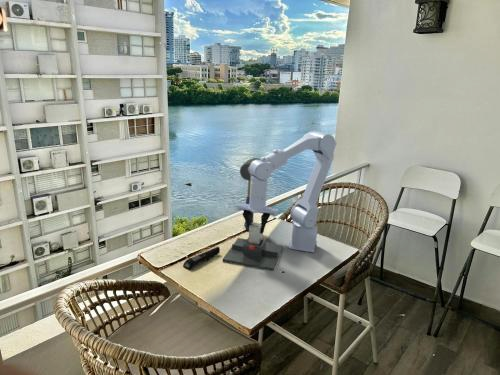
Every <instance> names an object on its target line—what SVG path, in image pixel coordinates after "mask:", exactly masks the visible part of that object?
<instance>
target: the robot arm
mask: <svg viewBox="0 0 500 375" xmlns="http://www.w3.org/2000/svg"><path fill="white" fill-rule="evenodd" d="M336 146H337V142H336V140H335V137H334V136H333V135H332V134H330V133H325V132H321V131H318V130H310V131H309V132H307V133H304V134H303V136H302V137H301V138H299V139H298V140H296V141H295V142H293V143H291V144H290V145H289V146H288V147H286V148H284V149H283V150H282V149H280V148H278V149H275V148H274V149H273V150H272V151H271V152H270V153H269V154H267V155H266V156H262V157H261V158H260V159H261V160H254V161H253V162H252V163H251V164H250V166H249V167H248V171H249V173H250V175H251V182H250V201H249V204H246V203H237V204H236V211H243V212H242V217H243V218H244V220H245V221H246V224H247V228H248V230H247V232H249V226H250V225H251V223H252V213H254V214H262V215H261V217H260V218H261V219H260V220H261V221H260V222H261V234H262V235H263V234H264V232H265V228H266V225H267V223H268V220H269V219H270V216H273V217H278V216H279V209H278V208H273V207H270V206H267V191H268V179H269V178H270V177H271V175H272V173H274V172H275V171H277V170H278V169H280V168H281V167H283V166H285V165H287V163H288V160H289V159H291V158H292V157H294V156H296V155H299V154H300V153H303V152H304V151H307V150H311V151H312V152H313V154H314V156H315V157H316V160H315V163H314V165H313V169H312V171H311V174H310V177H309V178H308V182H307V184H306V187H305V189H304V192H303V195H302V198H299V199H297V200H296V201H295V204H294V205H293V207H292V208H291V210H290V212H289V213H290V217H291V219H292V233H291V241H290V243H289V245H288V249H291V250H297V251H301V252H308V253H315V249H316V246H317V243H318V242H317V237H318V226H316V224H317V222H318V214H319V213H320V212H319V211H320V210H319V208H318V205H317V202H318V200H319V197H320V194H321V192H322V189H323V186H324V185H325V182H326V179H327V176H328V173H329V170H330V168H331V166H332V164H333V160H334V156H335V155H334V152H335V149H336ZM245 221H244V222H245Z"/></svg>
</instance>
